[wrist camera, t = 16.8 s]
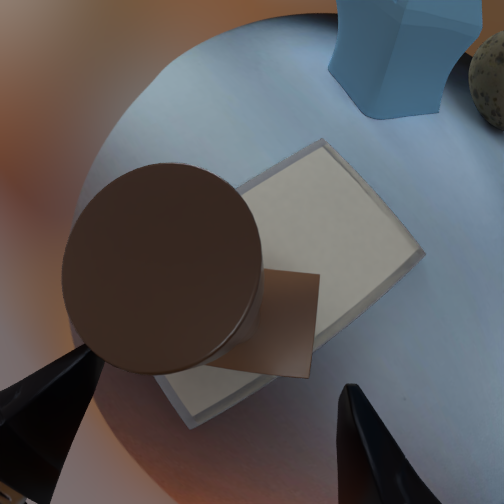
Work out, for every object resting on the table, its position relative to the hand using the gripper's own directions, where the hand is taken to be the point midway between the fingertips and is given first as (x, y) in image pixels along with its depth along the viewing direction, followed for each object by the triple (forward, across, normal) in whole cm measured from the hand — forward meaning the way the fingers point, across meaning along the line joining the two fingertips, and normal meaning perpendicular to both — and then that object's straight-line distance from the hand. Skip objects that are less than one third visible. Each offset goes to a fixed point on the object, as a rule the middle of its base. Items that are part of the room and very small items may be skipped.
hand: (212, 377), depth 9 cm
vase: (+26, -11, -13) cm, 31 cm away
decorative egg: (+26, -27, -13) cm, 40 cm away
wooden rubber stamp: (+8, 0, +4) cm, 9 cm away
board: (+11, -1, +2) cm, 11 cm away
